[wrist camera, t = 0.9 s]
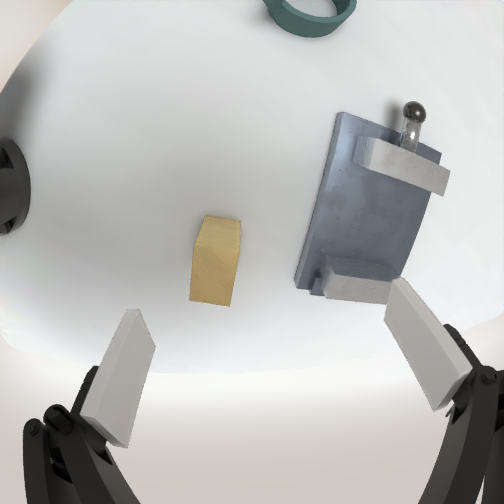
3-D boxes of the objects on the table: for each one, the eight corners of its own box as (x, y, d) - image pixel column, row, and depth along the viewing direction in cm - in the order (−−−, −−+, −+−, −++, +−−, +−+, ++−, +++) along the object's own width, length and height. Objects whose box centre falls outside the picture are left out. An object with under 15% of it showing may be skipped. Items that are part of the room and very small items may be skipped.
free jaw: (351, 162, 26) (368, 169, 22) (367, 86, 22) (387, 81, 18) (421, 186, 27) (443, 196, 23) (437, 119, 23) (460, 121, 19)
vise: (294, 279, 34) (303, 311, 29) (337, 112, 25) (361, 110, 20) (383, 291, 36) (402, 318, 30) (432, 150, 27) (464, 160, 21)
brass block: (200, 261, 33) (189, 300, 26) (205, 215, 30) (194, 245, 23) (232, 266, 33) (229, 306, 26) (240, 221, 31) (239, 252, 24)
